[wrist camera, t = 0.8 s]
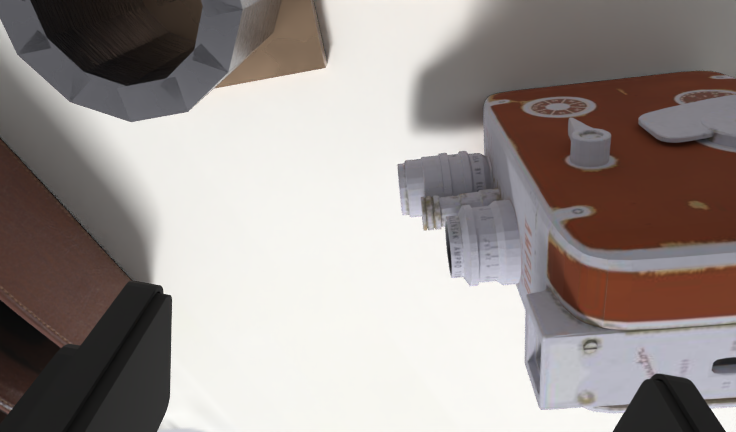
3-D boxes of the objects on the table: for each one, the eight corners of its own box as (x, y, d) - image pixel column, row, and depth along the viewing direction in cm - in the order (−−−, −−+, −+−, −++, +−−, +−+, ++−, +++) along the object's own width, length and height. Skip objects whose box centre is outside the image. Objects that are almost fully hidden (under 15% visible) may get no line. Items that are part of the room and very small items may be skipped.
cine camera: (390, 81, 33) (395, 251, 16) (719, 44, 32) (1144, 184, 14) (403, 213, 37) (420, 464, 20) (694, 185, 36) (996, 432, 18)
